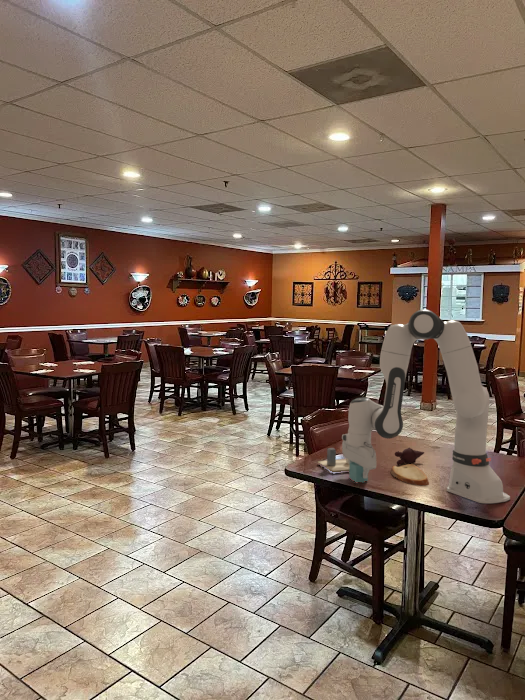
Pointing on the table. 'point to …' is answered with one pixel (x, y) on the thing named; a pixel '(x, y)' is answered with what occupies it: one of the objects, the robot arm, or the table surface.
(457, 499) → the table surface
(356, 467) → the teal rectangular block
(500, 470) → the table surface
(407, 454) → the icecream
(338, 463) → the board
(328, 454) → the tall post
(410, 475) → the bread slice
